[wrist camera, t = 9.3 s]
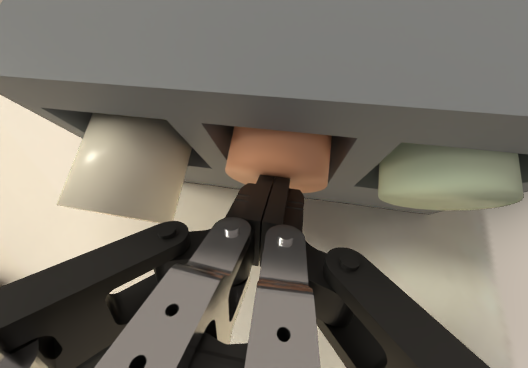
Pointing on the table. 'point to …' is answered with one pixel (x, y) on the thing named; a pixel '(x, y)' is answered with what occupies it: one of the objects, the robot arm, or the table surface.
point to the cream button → (128, 168)
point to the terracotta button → (280, 157)
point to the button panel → (281, 75)
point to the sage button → (449, 178)
